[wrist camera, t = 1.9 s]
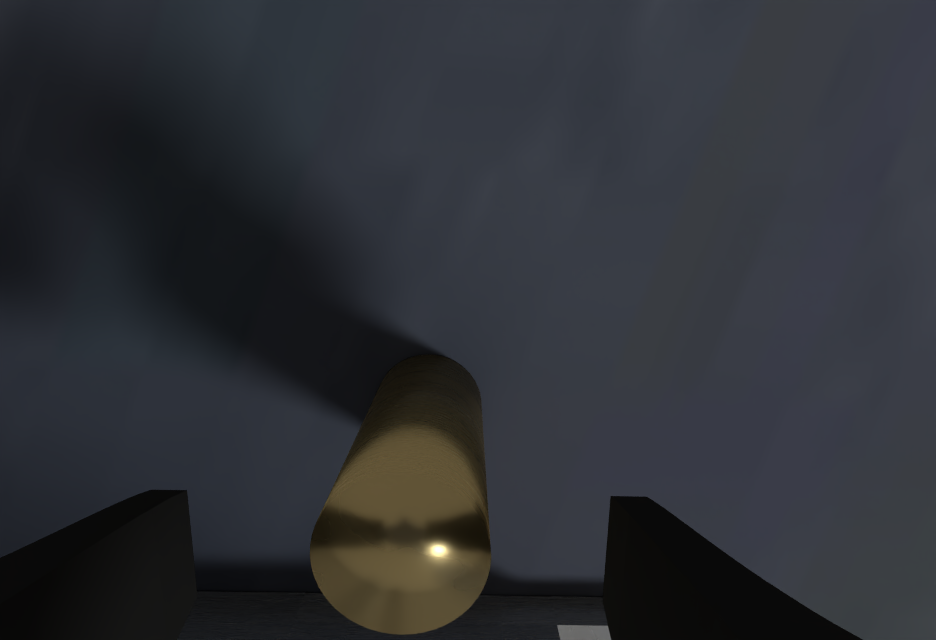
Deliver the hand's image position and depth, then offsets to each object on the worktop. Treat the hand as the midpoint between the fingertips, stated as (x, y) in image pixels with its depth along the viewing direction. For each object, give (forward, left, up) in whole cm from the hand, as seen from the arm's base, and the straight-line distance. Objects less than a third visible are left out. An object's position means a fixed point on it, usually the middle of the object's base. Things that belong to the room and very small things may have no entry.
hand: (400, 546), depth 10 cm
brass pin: (0, 0, -7) cm, 7 cm away
